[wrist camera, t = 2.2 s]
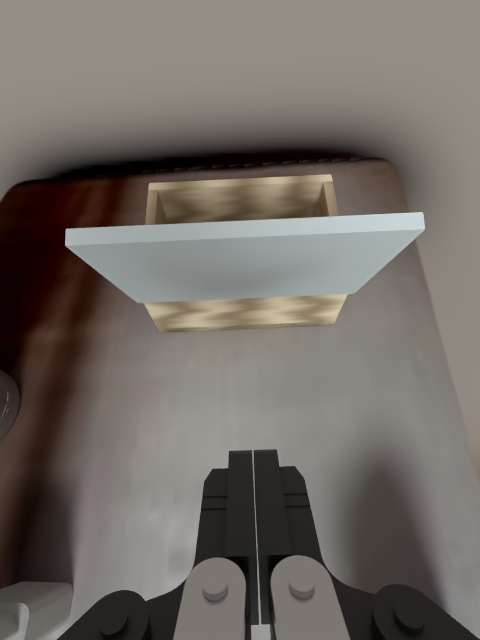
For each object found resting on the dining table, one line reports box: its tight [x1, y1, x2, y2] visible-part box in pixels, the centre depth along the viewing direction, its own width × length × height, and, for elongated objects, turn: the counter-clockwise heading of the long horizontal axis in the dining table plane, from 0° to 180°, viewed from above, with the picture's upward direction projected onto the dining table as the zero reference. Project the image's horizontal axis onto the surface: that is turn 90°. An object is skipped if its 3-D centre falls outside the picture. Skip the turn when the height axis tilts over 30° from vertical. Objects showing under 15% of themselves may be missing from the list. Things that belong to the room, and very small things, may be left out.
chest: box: [144, 175, 348, 332], centre depth 42 cm, size 20×14×9 cm
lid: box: [65, 212, 425, 303], centre depth 28 cm, size 20×14×1 cm
